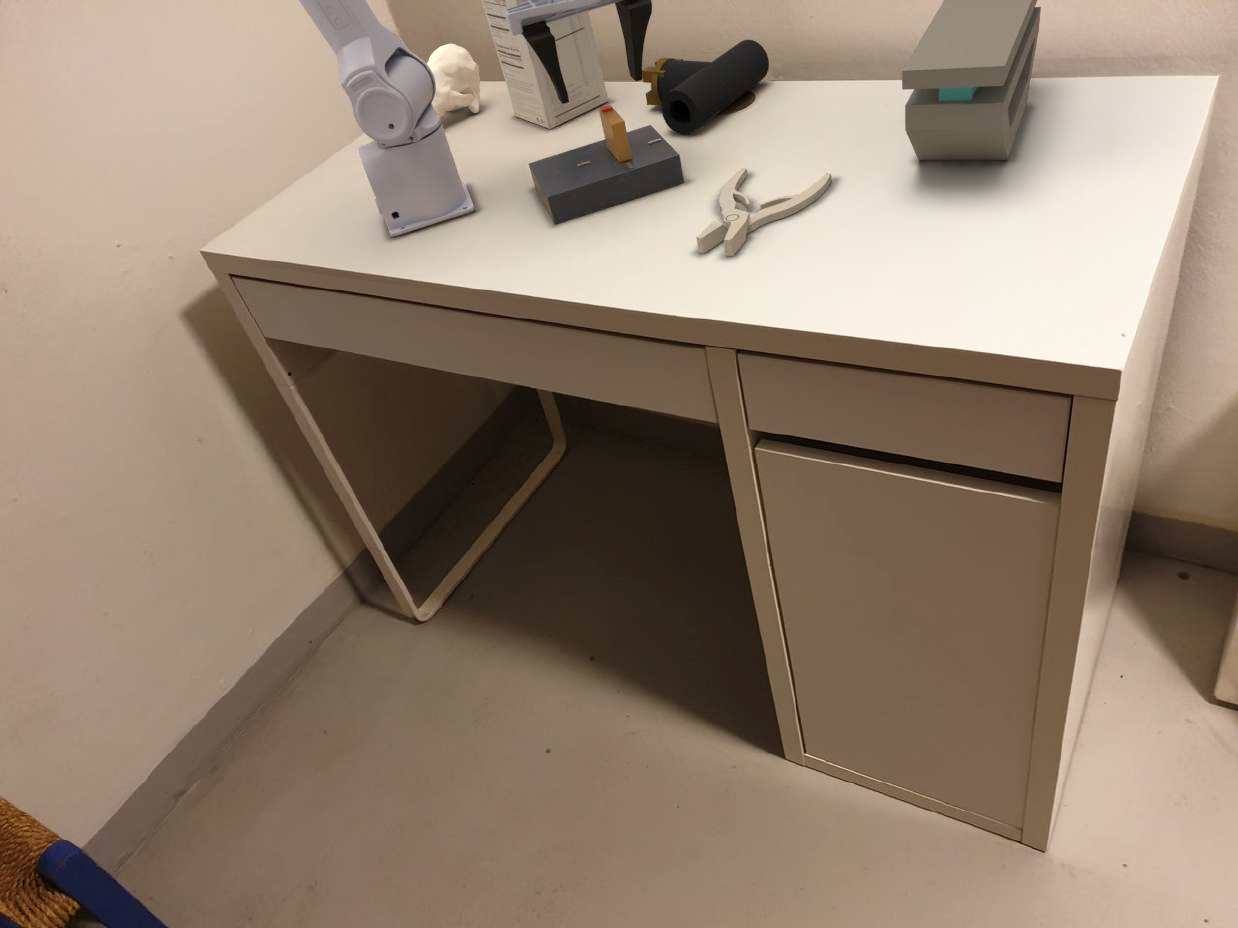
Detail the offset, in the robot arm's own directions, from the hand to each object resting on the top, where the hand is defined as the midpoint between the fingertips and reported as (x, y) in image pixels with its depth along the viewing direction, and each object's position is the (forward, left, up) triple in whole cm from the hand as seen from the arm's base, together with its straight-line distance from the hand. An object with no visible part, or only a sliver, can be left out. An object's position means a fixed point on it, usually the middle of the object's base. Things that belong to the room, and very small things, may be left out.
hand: (600, 89), depth 90 cm
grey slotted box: (+32, -15, -10) cm, 37 cm away
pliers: (+8, -17, -10) cm, 21 cm away
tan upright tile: (0, -1, -7) cm, 7 cm away
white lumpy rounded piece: (-15, +35, -10) cm, 39 cm away
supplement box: (-1, +26, -10) cm, 28 cm away
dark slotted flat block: (-2, -1, -10) cm, 10 cm away
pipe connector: (+13, +13, -10) cm, 21 cm away
